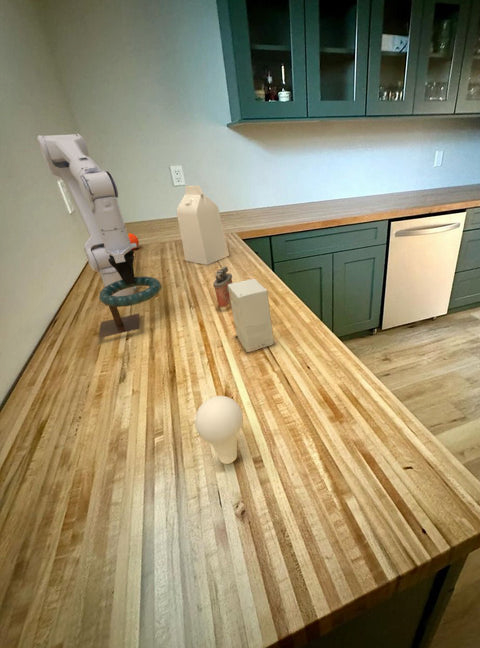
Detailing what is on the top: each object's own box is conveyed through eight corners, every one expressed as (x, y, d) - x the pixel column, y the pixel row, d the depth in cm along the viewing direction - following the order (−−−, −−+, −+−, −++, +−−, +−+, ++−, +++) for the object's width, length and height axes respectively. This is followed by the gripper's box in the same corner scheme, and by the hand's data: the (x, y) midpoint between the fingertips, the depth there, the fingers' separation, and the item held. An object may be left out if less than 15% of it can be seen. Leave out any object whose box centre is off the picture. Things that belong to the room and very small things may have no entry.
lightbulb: (210, 445, 50) (195, 388, 45) (251, 440, 51) (240, 384, 45) (204, 481, 45) (185, 422, 40) (249, 476, 45) (237, 417, 40)
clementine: (135, 252, 143) (130, 235, 140) (119, 253, 143) (114, 236, 140) (143, 246, 150) (138, 230, 146) (128, 247, 150) (123, 231, 147)
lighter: (227, 311, 89) (220, 275, 84) (215, 310, 90) (208, 275, 85) (238, 298, 96) (232, 264, 91) (227, 297, 96) (221, 264, 92)
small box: (274, 344, 73) (268, 290, 67) (246, 353, 71) (237, 297, 65) (261, 328, 80) (254, 277, 73) (236, 336, 78) (226, 283, 71)
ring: (102, 291, 85) (99, 282, 84) (159, 279, 90) (157, 271, 89) (99, 313, 74) (96, 304, 73) (164, 299, 79) (162, 290, 78)
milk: (229, 255, 131) (216, 183, 118) (207, 264, 123) (191, 189, 110) (207, 251, 137) (193, 183, 124) (185, 260, 129) (168, 188, 116)
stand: (102, 325, 86) (92, 300, 82) (140, 317, 89) (131, 292, 85) (100, 342, 79) (88, 315, 75) (141, 332, 82) (132, 306, 78)
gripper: (131, 231, 75) (148, 288, 81) (130, 220, 86) (145, 270, 93) (95, 237, 72) (116, 294, 79) (99, 224, 84) (117, 275, 91)
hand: (130, 281), depth 86 cm, fingers closed on ring, 2 cm apart
